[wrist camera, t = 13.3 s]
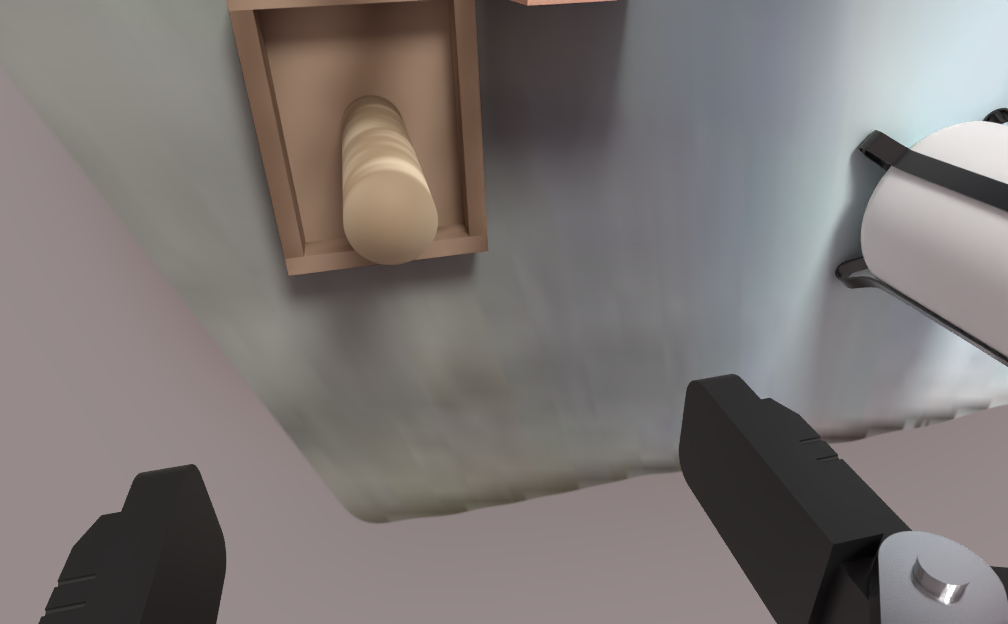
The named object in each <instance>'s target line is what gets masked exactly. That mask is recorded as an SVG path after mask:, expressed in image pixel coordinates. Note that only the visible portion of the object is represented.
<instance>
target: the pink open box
mask: <svg viewBox="0 0 1008 624" xmlns="http://www.w3.org/2000/svg"><path fill="white" fill-rule="evenodd" d="M510 1H514V2H517V3H520V4H524V5H527V6H529V5H546V4H563V3H581V2H598V1H615V0H510Z"/></svg>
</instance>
